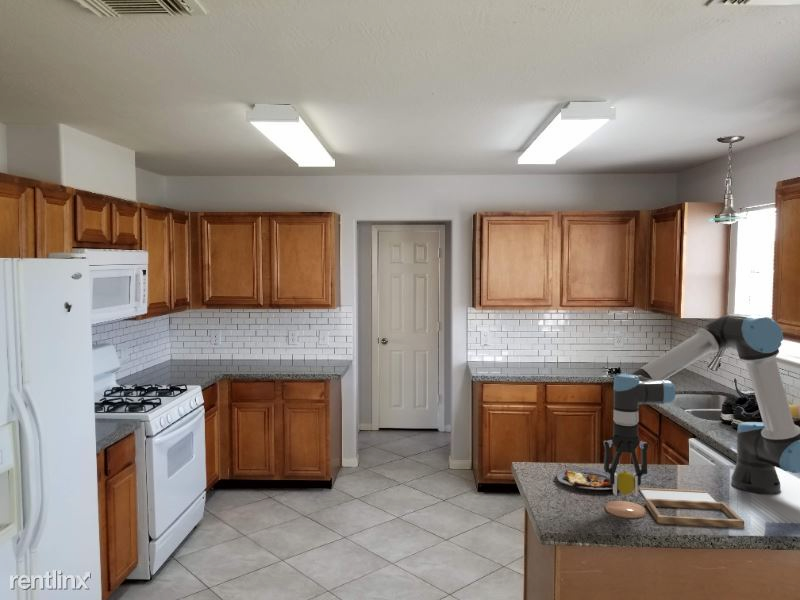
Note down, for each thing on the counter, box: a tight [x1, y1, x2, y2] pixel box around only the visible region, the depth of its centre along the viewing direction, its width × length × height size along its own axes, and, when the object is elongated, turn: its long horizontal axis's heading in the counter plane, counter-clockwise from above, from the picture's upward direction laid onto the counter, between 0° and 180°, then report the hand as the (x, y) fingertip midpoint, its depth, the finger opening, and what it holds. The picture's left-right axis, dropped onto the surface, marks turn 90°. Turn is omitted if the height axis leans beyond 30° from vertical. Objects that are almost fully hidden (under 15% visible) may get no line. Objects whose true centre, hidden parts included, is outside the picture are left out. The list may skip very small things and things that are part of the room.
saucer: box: [605, 500, 646, 519], centre depth 189 cm, size 12×12×1 cm
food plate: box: [556, 466, 619, 491], centre depth 216 cm, size 25×23×4 cm
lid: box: [638, 487, 717, 502], centre depth 199 cm, size 22×13×1 cm, turn 81°
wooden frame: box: [644, 498, 745, 529], centre depth 185 cm, size 24×16×2 cm, turn 81°
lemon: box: [617, 470, 634, 496], centre depth 189 cm, size 6×6×8 cm
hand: (625, 494), depth 189 cm, fingers closed on lemon, 5 cm apart
